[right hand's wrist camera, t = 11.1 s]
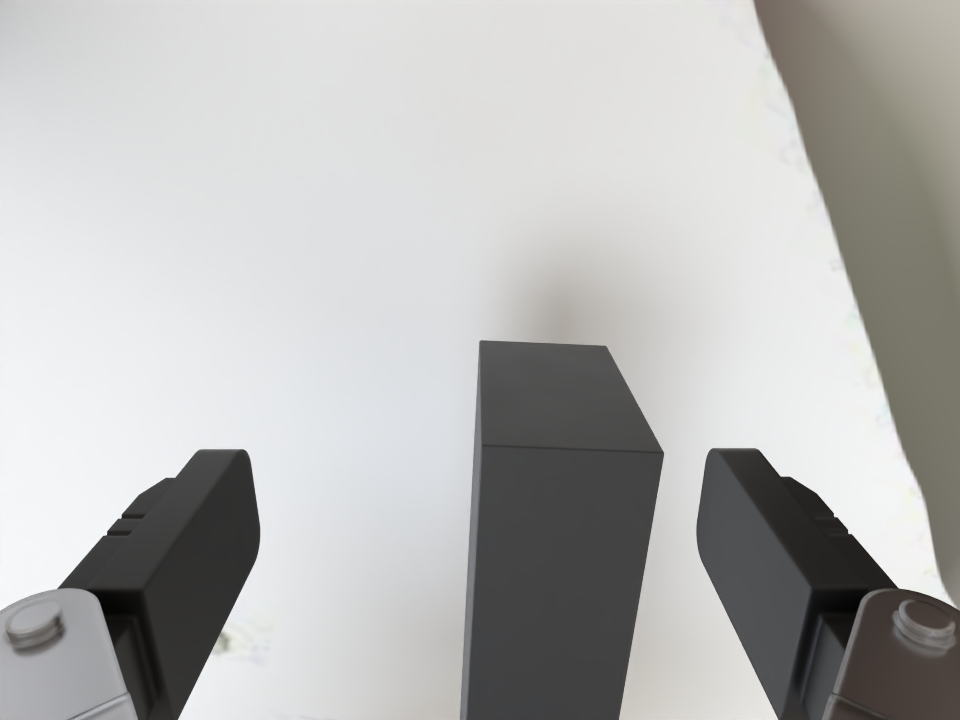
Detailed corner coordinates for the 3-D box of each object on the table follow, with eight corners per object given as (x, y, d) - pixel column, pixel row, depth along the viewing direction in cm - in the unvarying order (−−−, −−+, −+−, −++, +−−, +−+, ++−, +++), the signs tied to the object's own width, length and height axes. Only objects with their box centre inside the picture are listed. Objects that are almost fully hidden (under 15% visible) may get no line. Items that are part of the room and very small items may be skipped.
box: (479, 339, 31) (480, 445, 21) (606, 345, 31) (665, 453, 22) (458, 752, 41) (452, 952, 31) (555, 755, 41) (579, 955, 31)
